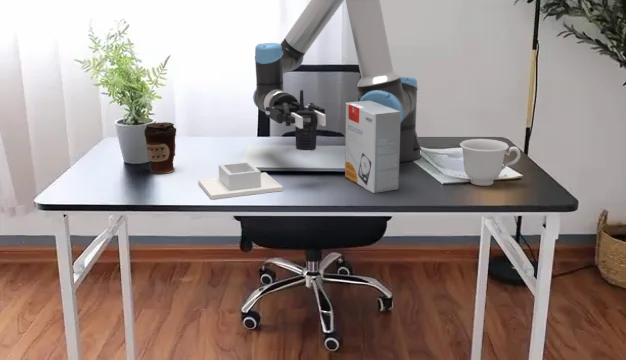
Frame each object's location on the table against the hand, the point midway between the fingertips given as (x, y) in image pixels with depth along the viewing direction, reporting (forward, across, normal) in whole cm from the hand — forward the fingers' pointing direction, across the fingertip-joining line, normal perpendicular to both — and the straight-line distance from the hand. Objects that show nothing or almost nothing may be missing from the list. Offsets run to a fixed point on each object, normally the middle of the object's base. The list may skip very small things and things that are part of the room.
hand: (312, 121), depth 177 cm
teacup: (+11, -43, -18) cm, 48 cm away
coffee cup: (-31, +32, -17) cm, 48 cm away
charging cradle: (-9, +17, -17) cm, 25 cm away
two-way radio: (-5, 0, -8) cm, 10 cm away
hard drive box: (0, -15, -18) cm, 23 cm away
